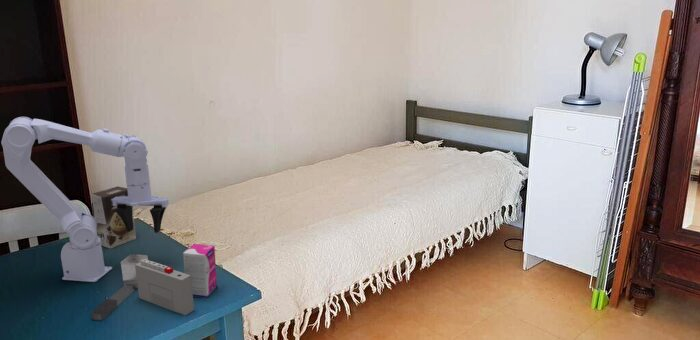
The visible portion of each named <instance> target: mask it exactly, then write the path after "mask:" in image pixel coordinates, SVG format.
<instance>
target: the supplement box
mask: <svg viewBox="0 0 700 340" xmlns="http://www.w3.org/2000/svg"><path fill="white" fill-rule="evenodd" d="M182 256H183V258H182V259H183V268H184V272H183V273H185V274H188V275H191V283H192V293H193V297H198V298H205V299H207V298H208V297H209V296H210V295H211V293H212V292H213V291H215V289H217V287H218V285H217V282H218V281H217V268H216V267H217V265H216V248H215V246H214V245H210V244H197V243H193V244H192V245H191V246H190V247H189V248H187V249H186V250H185V251H183V253H182Z"/></svg>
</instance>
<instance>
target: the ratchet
mask: <svg viewBox="0 0 700 340" xmlns="http://www.w3.org/2000/svg"><path fill="white" fill-rule="evenodd" d="M135 291H138V285H137V282H136V281H123V286H122V287H120V289H118V290H117V291H116V292H114V294H113V295H112V296H110V297H109V298H106V299H104V300H103V301H102V302H101V303H100V304H99V305H98V306H96V307H95V308H94V309H93V310H92V311H91V312H90V314H91V315H90V316H91V320H92V321H101V322H102V321H104V320H105V319H106V318H108V317H109V315H110V314H112V313H113V312H114V311H115V310H116V309H117V308H118V306H119V305H121V304H122V303H123V302H124V301H125V300H126V299H127V298H128V297H129V296H130V295H131V294H133V293H134V292H135Z"/></svg>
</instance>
